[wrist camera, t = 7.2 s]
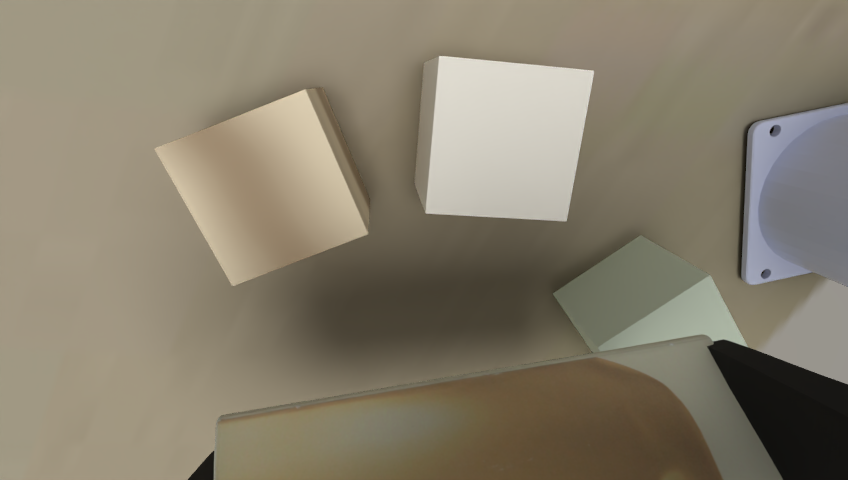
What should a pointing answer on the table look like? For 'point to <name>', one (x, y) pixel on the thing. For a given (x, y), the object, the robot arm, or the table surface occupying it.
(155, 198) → the table surface
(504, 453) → the skincare box
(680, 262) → the cube sage
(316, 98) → the cube beech
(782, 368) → the robot arm
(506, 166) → the cube cream
